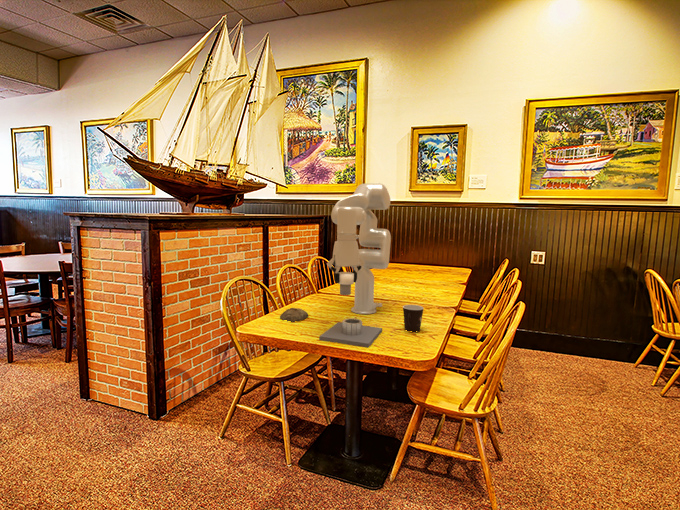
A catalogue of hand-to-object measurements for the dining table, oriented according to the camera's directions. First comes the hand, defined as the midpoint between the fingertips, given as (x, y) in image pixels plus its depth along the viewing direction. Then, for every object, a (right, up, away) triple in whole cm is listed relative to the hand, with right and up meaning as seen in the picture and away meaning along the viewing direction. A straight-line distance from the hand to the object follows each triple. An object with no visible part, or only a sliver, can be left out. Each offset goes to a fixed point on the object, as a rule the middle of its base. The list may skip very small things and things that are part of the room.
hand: (345, 281), depth 149 cm
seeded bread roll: (-24, -19, +24) cm, 39 cm away
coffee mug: (+28, -22, +8) cm, 36 cm away
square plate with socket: (+3, -22, +1) cm, 22 cm away
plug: (0, -5, +1) cm, 5 cm away
